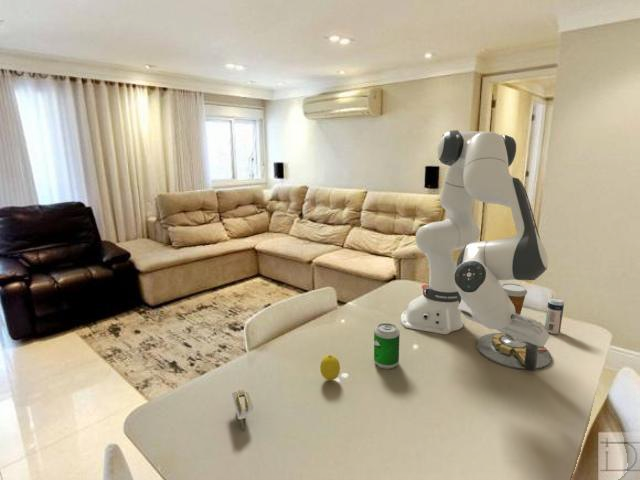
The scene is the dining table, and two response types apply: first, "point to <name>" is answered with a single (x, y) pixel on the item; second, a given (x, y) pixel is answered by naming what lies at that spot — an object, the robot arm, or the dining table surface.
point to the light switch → (248, 405)
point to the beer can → (554, 315)
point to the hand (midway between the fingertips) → (511, 335)
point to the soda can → (386, 345)
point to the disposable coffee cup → (515, 295)
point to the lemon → (330, 367)
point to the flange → (510, 360)
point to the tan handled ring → (519, 352)
